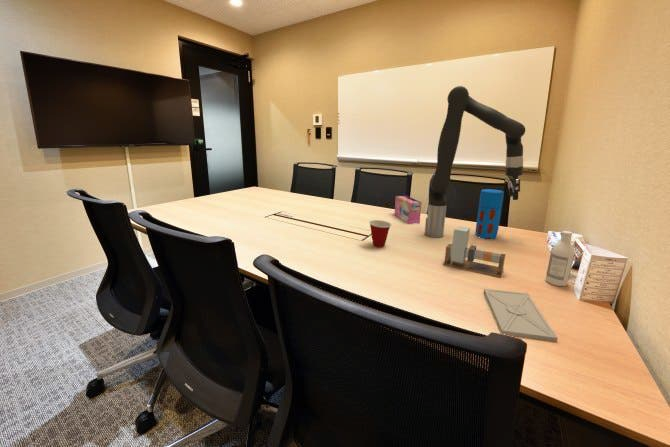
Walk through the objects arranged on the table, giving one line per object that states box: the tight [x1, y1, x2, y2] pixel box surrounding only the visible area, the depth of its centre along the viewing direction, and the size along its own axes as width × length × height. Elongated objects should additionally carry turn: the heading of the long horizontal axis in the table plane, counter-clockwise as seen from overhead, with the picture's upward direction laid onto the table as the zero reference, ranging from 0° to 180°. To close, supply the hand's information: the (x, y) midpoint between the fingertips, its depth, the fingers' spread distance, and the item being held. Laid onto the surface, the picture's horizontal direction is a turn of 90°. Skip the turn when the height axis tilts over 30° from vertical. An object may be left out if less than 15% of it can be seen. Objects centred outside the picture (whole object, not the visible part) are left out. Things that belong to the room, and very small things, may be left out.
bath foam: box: [545, 230, 575, 287], centre depth 115 cm, size 7×7×20 cm
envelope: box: [482, 288, 558, 342], centre depth 97 cm, size 24×2×14 cm
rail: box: [442, 243, 506, 279], centre depth 129 cm, size 22×9×8 cm, turn 57°
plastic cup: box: [368, 219, 392, 248], centre depth 154 cm, size 11×11×12 cm
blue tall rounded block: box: [474, 188, 505, 240], centre depth 165 cm, size 11×11×25 cm
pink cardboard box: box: [394, 194, 422, 225], centre depth 202 cm, size 24×8×14 cm, turn 13°
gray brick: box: [466, 244, 477, 262], centre depth 129 cm, size 2×5×5 cm, turn 147°
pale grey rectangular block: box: [451, 225, 471, 263], centre depth 131 cm, size 5×6×14 cm
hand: (513, 198), depth 156 cm, fingers open, 8 cm apart
